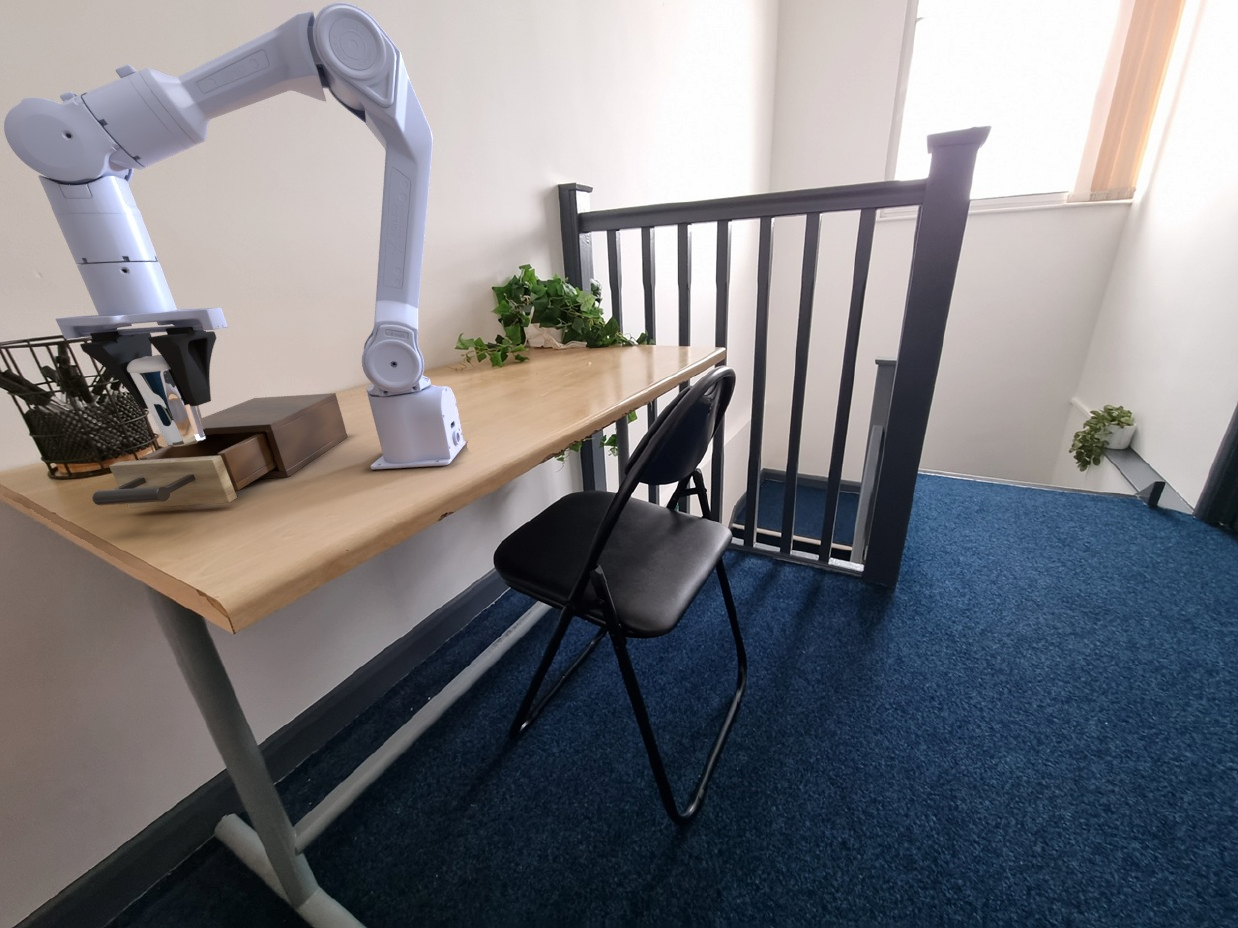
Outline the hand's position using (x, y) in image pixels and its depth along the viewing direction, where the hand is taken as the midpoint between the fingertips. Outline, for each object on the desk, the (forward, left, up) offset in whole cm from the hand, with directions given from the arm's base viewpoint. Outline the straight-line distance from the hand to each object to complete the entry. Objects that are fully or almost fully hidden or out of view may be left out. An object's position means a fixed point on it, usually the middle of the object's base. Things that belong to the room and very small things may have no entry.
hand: (177, 405), depth 51 cm
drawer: (0, 0, -10) cm, 9 cm away
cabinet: (0, -11, -10) cm, 16 cm away
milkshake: (0, 0, -4) cm, 4 cm away
